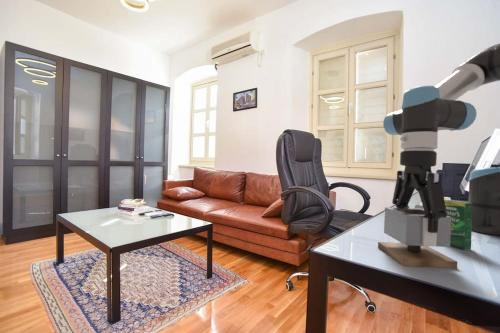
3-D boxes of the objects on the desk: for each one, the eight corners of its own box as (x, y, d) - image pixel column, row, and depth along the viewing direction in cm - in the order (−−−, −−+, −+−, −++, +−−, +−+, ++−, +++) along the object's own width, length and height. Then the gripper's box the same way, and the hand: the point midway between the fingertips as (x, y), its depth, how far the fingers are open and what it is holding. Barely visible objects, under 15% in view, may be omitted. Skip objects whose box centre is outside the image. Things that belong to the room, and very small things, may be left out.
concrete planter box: (421, 234, 66) (422, 208, 66) (449, 247, 56) (451, 217, 56) (383, 232, 67) (384, 207, 66) (405, 245, 57) (406, 215, 56)
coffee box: (435, 240, 75) (437, 198, 75) (443, 240, 76) (445, 198, 75) (463, 250, 67) (465, 203, 67) (471, 249, 68) (473, 203, 68)
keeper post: (422, 249, 67) (423, 210, 67) (457, 268, 55) (459, 221, 55) (377, 247, 68) (379, 208, 67) (402, 265, 56) (404, 218, 55)
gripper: (380, 151, 72) (377, 225, 73) (434, 147, 50) (430, 254, 50) (406, 152, 72) (403, 226, 72) (472, 148, 49) (467, 256, 50)
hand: (414, 238), depth 61 cm, fingers closed on concrete planter box, 10 cm apart
